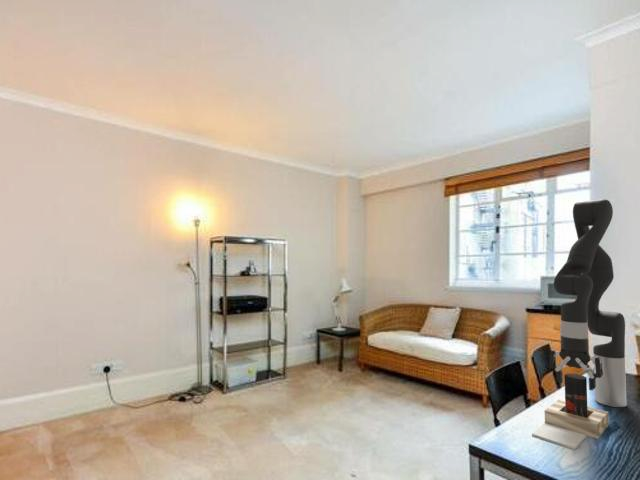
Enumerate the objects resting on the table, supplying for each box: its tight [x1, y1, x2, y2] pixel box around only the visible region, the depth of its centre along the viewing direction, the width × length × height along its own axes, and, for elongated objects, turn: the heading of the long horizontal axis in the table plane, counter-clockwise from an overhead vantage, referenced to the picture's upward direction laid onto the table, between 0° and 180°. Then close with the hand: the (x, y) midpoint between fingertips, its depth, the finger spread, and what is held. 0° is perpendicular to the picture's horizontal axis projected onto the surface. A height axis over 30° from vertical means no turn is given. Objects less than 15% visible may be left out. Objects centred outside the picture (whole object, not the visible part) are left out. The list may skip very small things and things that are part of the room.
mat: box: [531, 422, 587, 451], centre depth 112 cm, size 11×11×1 cm
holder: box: [544, 399, 610, 439], centre depth 121 cm, size 14×14×4 cm
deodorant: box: [563, 373, 589, 418], centre depth 121 cm, size 6×6×15 cm
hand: (575, 386), depth 121 cm, fingers open, 8 cm apart
